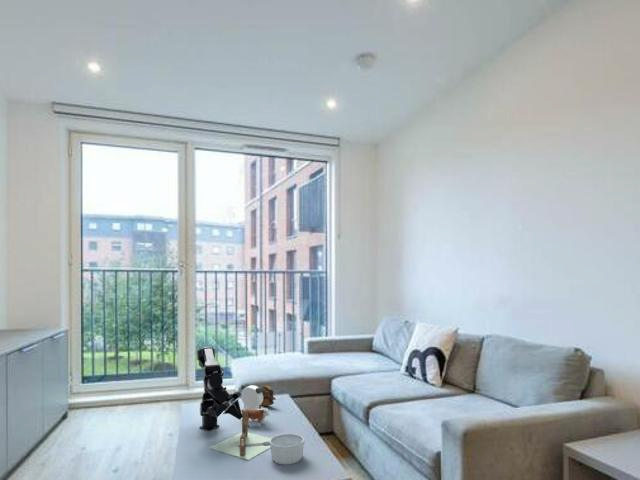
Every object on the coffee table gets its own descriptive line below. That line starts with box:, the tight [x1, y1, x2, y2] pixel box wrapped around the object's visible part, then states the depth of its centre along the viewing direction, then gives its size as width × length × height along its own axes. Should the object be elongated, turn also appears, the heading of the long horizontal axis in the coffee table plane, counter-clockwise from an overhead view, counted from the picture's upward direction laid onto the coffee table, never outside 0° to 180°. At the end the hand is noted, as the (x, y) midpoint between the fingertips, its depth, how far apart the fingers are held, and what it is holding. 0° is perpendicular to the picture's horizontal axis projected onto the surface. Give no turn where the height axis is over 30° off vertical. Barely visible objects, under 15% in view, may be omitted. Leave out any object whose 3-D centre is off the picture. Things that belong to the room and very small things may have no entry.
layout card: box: [209, 431, 272, 461], centre depth 171 cm, size 21×20×1 cm
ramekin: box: [270, 433, 305, 466], centre depth 158 cm, size 13×13×7 cm
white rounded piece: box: [239, 383, 264, 422], centre depth 204 cm, size 12×11×15 cm
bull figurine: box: [248, 407, 270, 427], centre depth 193 cm, size 4×13×8 cm, turn 78°
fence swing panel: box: [241, 408, 249, 438], centre depth 176 cm, size 10×3×11 cm, turn 5°
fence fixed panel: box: [240, 436, 245, 456], centre depth 165 cm, size 10×2×4 cm, turn 11°
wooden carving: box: [259, 385, 276, 407], centre depth 222 cm, size 16×5×10 cm, turn 50°
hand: (241, 418), depth 179 cm, fingers closed
